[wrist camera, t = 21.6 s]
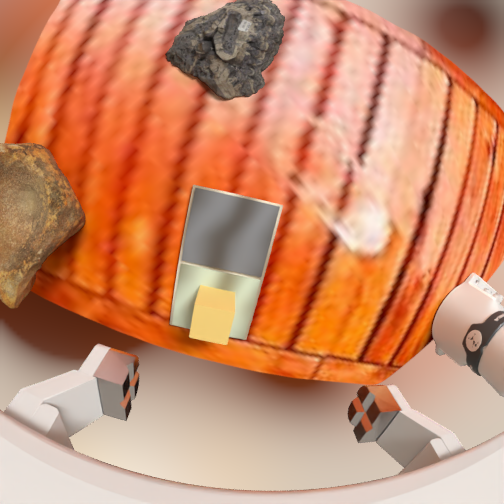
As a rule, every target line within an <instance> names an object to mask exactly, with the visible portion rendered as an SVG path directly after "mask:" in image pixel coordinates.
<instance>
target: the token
mask: <svg viewBox="0 0 504 504" xmlns="http://www.w3.org/2000/svg"><path fill="white" fill-rule="evenodd" d="M234 315H235V292H232V291H227V290H222V289H217V288H212V287H208V286H203V285H200V287H199V291H198V294H197V298H196V301H195V305H194V310H193V316H192V322H191V328H190V334H189V338H194V339H199V340H203V341H208V342H213V343H219V344H224V345H227V343H228V339H229V335H230V331H231V327H232V323H233V319H234Z"/></svg>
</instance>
